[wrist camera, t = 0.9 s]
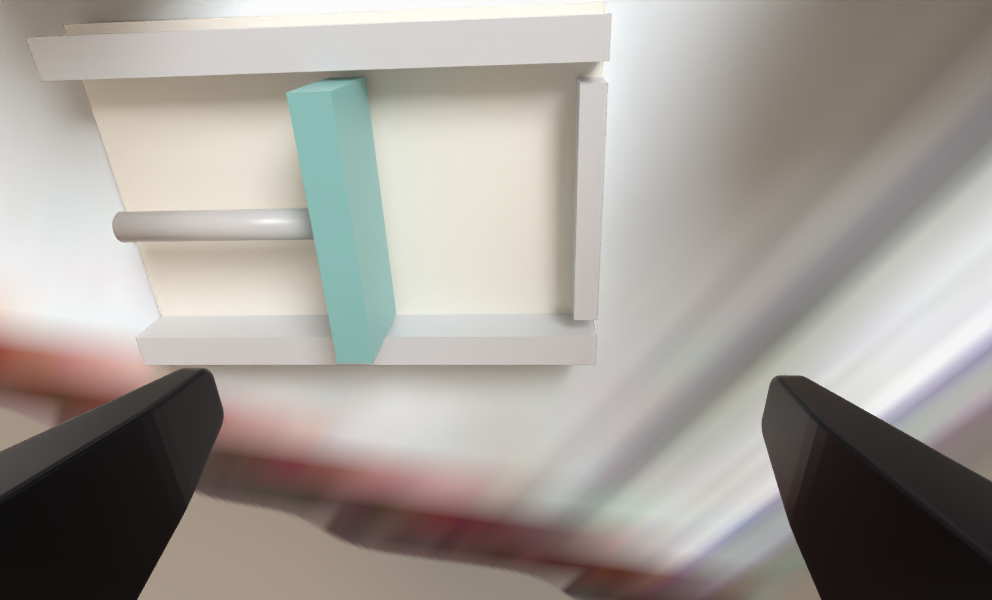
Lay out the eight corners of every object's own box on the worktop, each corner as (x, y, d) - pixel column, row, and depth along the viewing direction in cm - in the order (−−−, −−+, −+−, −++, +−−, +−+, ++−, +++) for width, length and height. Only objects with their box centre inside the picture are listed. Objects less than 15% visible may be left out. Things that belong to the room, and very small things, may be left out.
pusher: (365, 76, 18) (331, 90, 15) (396, 312, 22) (373, 363, 19) (116, 84, 19) (33, 100, 16) (187, 313, 23) (132, 363, 20)
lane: (602, 2, 18) (612, 1, 16) (589, 336, 23) (595, 372, 21) (80, 23, 19) (21, 26, 17) (182, 338, 25) (147, 371, 22)
